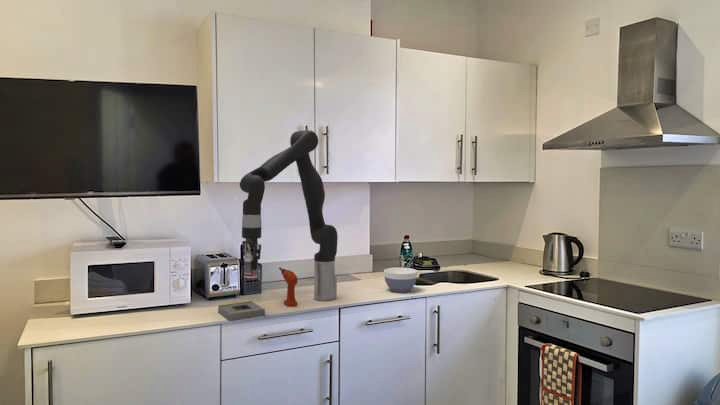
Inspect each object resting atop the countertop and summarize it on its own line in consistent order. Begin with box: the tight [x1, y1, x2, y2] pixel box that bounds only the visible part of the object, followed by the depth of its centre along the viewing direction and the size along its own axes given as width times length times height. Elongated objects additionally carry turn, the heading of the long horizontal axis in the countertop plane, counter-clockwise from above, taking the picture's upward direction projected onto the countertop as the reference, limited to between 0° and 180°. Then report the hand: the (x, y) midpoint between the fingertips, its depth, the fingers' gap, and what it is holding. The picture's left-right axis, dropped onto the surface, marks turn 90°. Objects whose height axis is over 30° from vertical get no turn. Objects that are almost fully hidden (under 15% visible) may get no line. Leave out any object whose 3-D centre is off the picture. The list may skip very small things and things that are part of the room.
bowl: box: [383, 267, 418, 293], centre depth 243 cm, size 16×16×10 cm
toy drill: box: [278, 267, 299, 308], centre depth 219 cm, size 5×19×15 cm, turn 29°
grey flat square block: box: [217, 300, 266, 322], centre depth 201 cm, size 14×14×3 cm
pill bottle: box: [243, 252, 259, 279], centre depth 200 cm, size 5×5×10 cm
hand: (251, 268), depth 200 cm, fingers closed on pill bottle, 5 cm apart
